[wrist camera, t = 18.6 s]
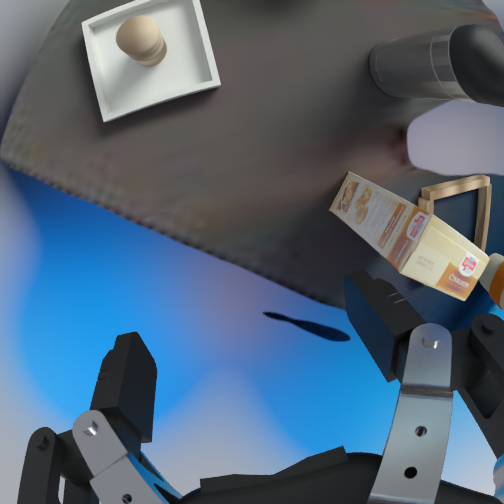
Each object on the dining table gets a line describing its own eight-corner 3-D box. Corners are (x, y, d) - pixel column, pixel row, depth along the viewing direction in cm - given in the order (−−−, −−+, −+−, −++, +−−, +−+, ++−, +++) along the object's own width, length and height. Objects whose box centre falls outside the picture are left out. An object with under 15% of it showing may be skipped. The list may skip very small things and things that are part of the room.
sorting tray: (195, -8, 28) (195, -16, 25) (219, 86, 35) (220, 84, 32) (89, 27, 27) (81, 22, 25) (110, 121, 34) (103, 122, 31)
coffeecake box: (327, 210, 45) (398, 274, 27) (348, 169, 42) (433, 211, 25) (394, 242, 49) (465, 304, 32) (412, 207, 47) (492, 257, 29)
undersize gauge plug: (163, 31, 29) (153, 9, 21) (170, 60, 31) (162, 44, 23) (130, 42, 29) (112, 24, 21) (137, 71, 31) (120, 59, 23)
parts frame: (483, 173, 46) (491, 176, 44) (476, 255, 55) (483, 260, 53) (418, 188, 45) (426, 192, 43) (415, 281, 54) (421, 287, 52)
